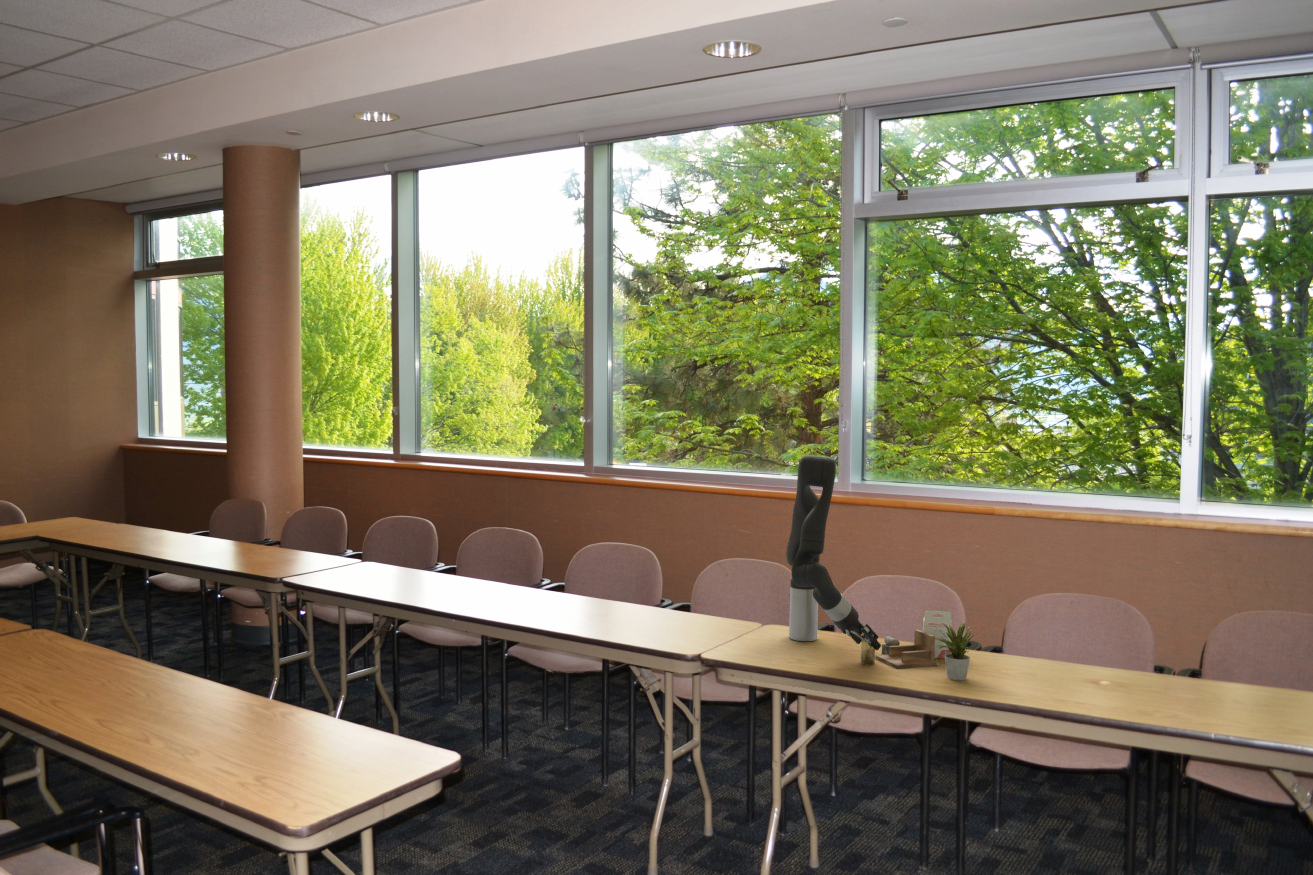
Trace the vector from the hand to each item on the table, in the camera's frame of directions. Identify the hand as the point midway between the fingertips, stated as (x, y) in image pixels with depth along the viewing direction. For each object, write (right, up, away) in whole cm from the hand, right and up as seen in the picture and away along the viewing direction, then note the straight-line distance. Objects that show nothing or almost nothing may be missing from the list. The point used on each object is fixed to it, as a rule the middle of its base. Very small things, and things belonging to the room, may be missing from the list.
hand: (869, 644), depth 295 cm
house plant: (+22, -6, -14) cm, 27 cm away
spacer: (0, -5, 0) cm, 5 cm away
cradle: (+11, -5, +4) cm, 13 cm away
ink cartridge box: (+23, -6, +9) cm, 25 cm away
